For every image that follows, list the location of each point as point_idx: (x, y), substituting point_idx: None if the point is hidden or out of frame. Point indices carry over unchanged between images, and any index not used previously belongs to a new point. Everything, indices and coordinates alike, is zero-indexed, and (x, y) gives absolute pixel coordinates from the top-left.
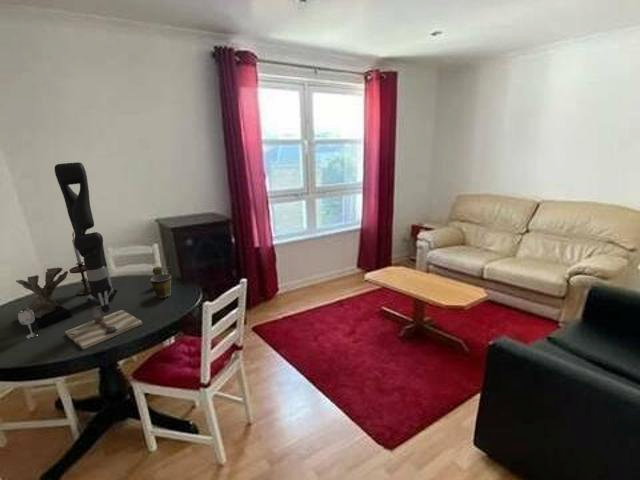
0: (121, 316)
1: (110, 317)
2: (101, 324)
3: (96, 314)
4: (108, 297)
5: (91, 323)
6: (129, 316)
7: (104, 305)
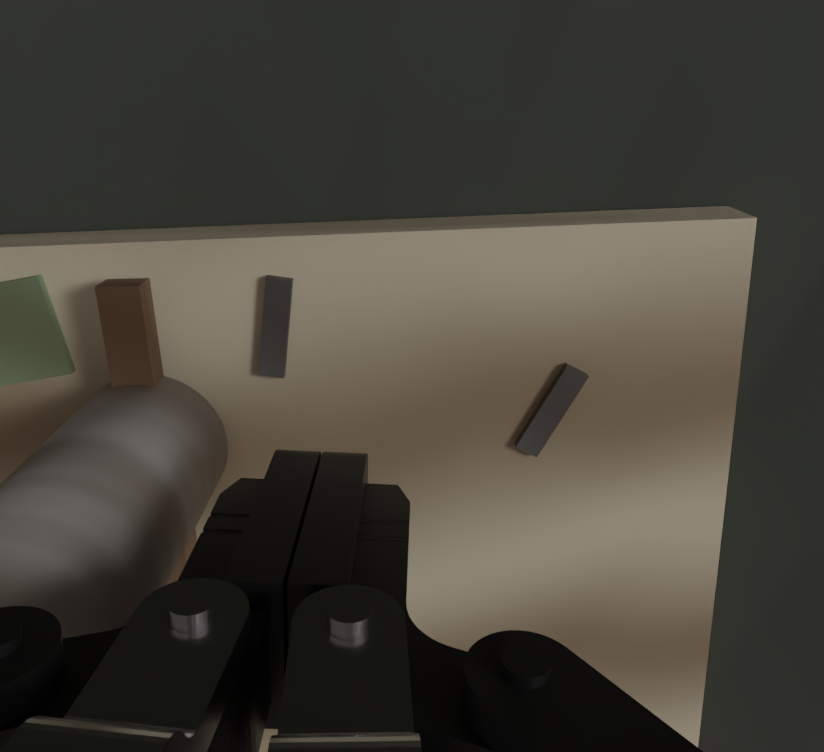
0: (567, 550)
1: (403, 408)
2: None
3: None
4: (529, 738)
5: (16, 383)
6: (657, 669)
7: (267, 719)
